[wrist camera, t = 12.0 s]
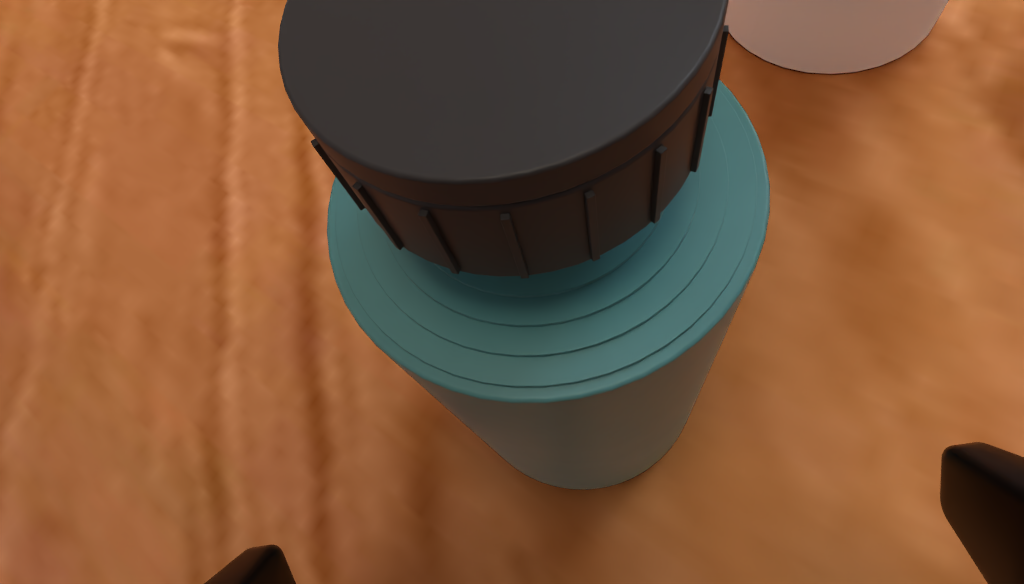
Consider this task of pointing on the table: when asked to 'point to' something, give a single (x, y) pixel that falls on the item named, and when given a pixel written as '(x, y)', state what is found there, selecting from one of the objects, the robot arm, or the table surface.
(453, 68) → the cap
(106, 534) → the table surface
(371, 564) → the table surface
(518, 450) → the bottle
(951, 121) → the table surface
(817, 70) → the cylindrical container
